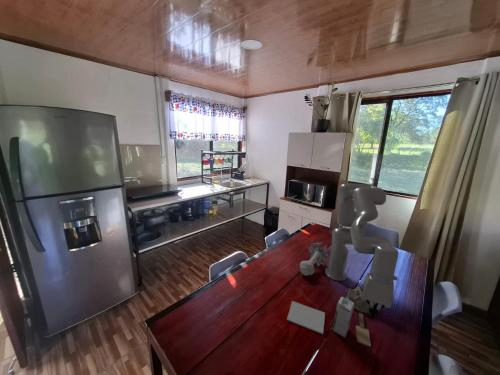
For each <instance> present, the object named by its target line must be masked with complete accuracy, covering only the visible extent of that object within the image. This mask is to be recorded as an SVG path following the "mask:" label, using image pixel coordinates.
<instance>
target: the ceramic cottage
mask: <svg viewBox="0 0 500 375" xmlns="http://www.w3.org/2000/svg"><path fill="white" fill-rule="evenodd" d="M362 286H363V283H362V284H361V286H360V285H358V286H356V287H355V288H354V289H352V288H349V289H348V290H347V293H346V296H345V298H346V299H348V300H350V301H352V302H353V303H355V304H354V308H353V310H354V309H355V310H356V311H358V312H360V313H364V314H369V315H370V313H369V312H368V310H369V304H368V303H367V302H366V301H364V300H362V299H361V297H360V296H361V294H362ZM374 304H376V303H375V302H373V305H374ZM379 312H380V310H378V313H379Z"/></svg>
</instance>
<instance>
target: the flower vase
mask: <svg viewBox="0 0 500 375" xmlns="http://www.w3.org/2000/svg"><path fill="white" fill-rule="evenodd" d="M322 244H323V241H321V242H314V243H313V242H311V243H310V246H308V247H307V249H308V253H310V254H311V255H310V256H309V257H310V259H309V260H302V261H301V262H300V263H299V271H300V273H301V274H302V275H304V276H306V277H307V276H312V275H314V272H315V266H314V265H315V264H316V265H317V267H320V266H321V265H323V266H324V263H323V262H322V261H324V262H326V261H327V260H326V257H329V254H328V248H327V245H325V246H322V247H321V245H322ZM315 246H316V247H315Z"/></svg>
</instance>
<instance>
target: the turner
mask: <svg viewBox="0 0 500 375" xmlns="http://www.w3.org/2000/svg"><path fill="white" fill-rule="evenodd" d="M358 319H359V320H358V321H359V323H358V324H359V325H357V324H356V325H355V330H356V331H355V333H356V342H357V343H358V344H361V345H363V346H366V347H370V348H371V346H372V344H371V337H370V329H368V328H365V320H364V319H365V318H364V314H363V312H359V313H358Z"/></svg>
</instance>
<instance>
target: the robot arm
mask: <svg viewBox="0 0 500 375" xmlns="http://www.w3.org/2000/svg"><path fill="white" fill-rule="evenodd" d="M337 195H338V196H337V197H338V200H339V201H338V203H339V204H338V211H337V216H336V223H337V224H338V226H341V227H336V228H334V229H333V230H332V231H331V235H332V236H331V239H332V240H331V250H330V254H329V262H328V267H326V268H325V270H324V273H325V275H326V276H327V277H328V278H329V279H332V280H334V281H337V282H344V281H345V280H346V279H347V278H348V277H347V276H348V275H347V273H346V272H345V271H346V267H347V260H348V256H349V248H348V247H347V246H348V245H350V246H351V245H352V246H353V249H354V251H355V252H357V253H359V254H365V255H373V257H372V260H371V265H370V266H371V267H370V271H369V272H367V273H366V275H365V278H364V280H363V283H362V284H363V286H362V285H361V287H362V294H361V296H360V297H361V299H362V300H364V301H366V302H367V303H368V304H369V310H368V312H369V313H370V314H369V315H370V317H371V318H374V319H376V317H377V316H378V314H379V312H378V310H379V311H380V310H381V309H385V308H387V309H391V308H392V304H393V301H394V300H393V299H394V290H395V285H394V281H398V276H396V275H394V274H395V272H396V268H397V262H398V260H399V255H400V254H399V250H398V249H397V248H396V247H394V246H393V245H392V242H391V241H390V240H389V238H387V237H383V236H375V235H366V233H367V227H368V223H370V222H372V221H374V220H376V219H377V218H378V217H379V212H378V209H377V206H383V205H384V204H386V201H387V194H386V192H385V190H384V189H383V188H381V187H377V186H376V185H373V184H361V183H351V182H349V183H347V182H346V183H341V184H340V185H339V187H338V189H337ZM373 302H375V303H376V304H374V305H373Z"/></svg>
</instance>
